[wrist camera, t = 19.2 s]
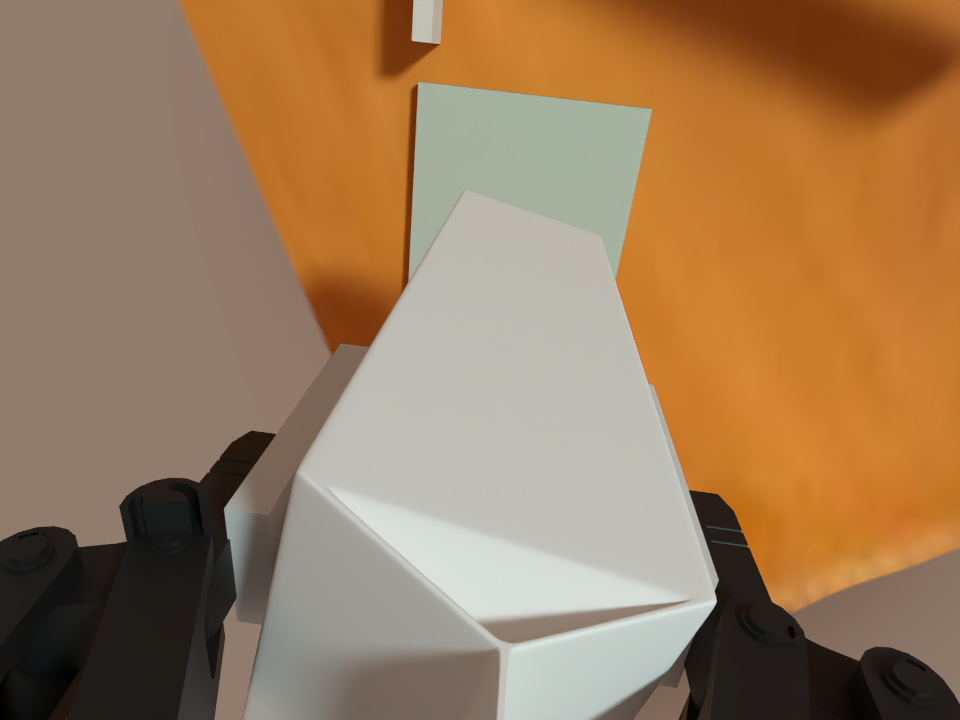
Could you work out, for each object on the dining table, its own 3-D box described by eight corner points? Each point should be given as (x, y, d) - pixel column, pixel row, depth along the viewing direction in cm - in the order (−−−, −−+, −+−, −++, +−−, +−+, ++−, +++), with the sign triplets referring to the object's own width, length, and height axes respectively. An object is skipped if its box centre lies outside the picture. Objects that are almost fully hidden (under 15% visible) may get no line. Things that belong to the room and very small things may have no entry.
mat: (420, 81, 34) (418, 82, 34) (650, 108, 34) (651, 109, 33) (409, 296, 40) (407, 299, 40) (604, 321, 40) (605, 325, 39)
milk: (426, 315, 27) (111, 978, 8) (464, 185, 24) (128, 700, 5) (553, 357, 28) (563, 1099, 8) (605, 233, 25) (819, 902, 5)
